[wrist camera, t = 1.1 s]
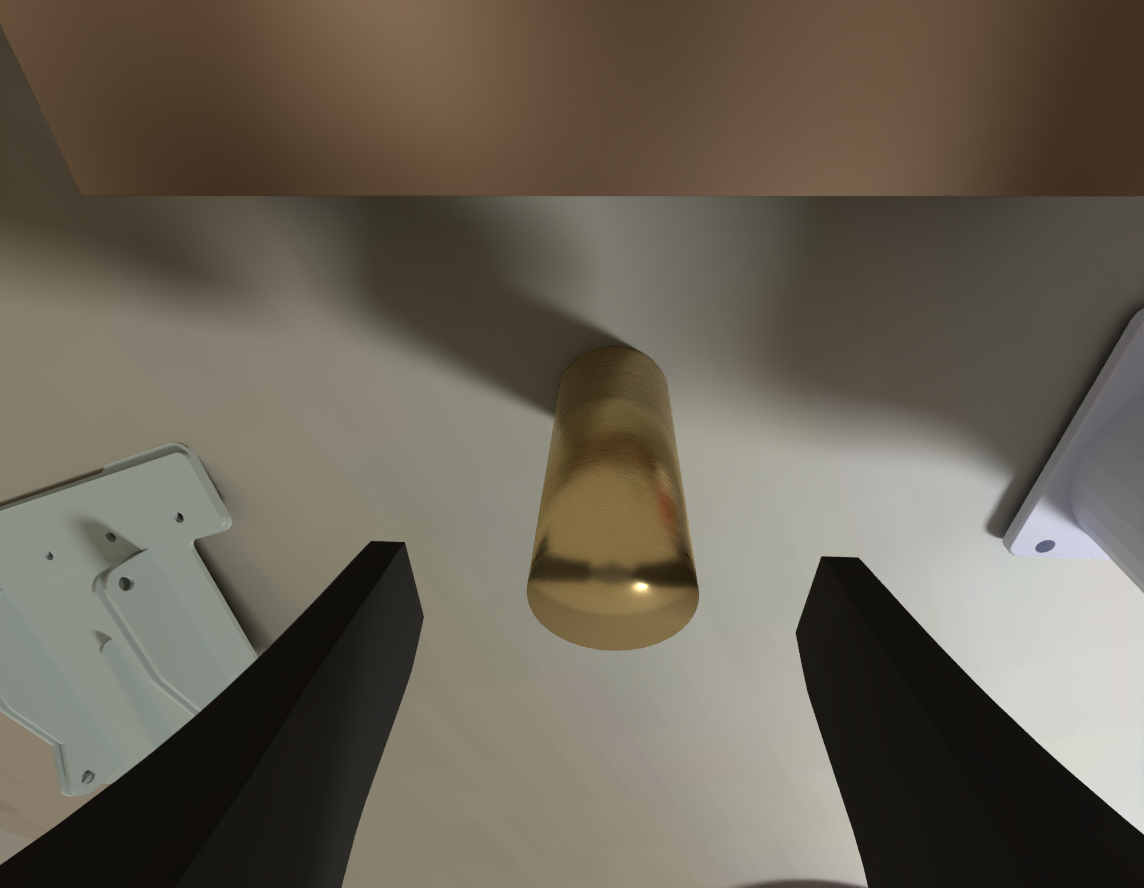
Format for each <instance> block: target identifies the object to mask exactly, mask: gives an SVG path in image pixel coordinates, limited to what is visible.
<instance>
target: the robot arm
mask: <svg viewBox="0 0 1144 888" xmlns="http://www.w3.org/2000/svg"><path fill="white" fill-rule="evenodd" d="M1002 542H1003V545H1004V546H1005V548H1006V549H1007V550H1008V551H1009V553H1011V554H1012V555H1015V556H1024V557H1051V558H1078V559H1106V560H1113V561H1114V562H1115V563H1116V565H1117V566H1118V567H1119V568H1120V569H1121V570H1122V571H1123V572H1124V573H1125V574H1126V575H1127V576H1128V577H1129V578H1130V579H1131V580H1132V581H1133V582H1134V583H1135V584H1136V585H1137V587H1138V588H1139V589H1140V590H1141V591H1142V592H1143V593H1144V308H1143V309H1141V310H1140V311H1139V312H1137V313H1136V314H1135V316H1134V317H1133V318H1132V319H1131V321H1130V322H1129V324H1128V326H1127V328H1126V329H1125V331H1124V333H1123V334H1122V336H1121V338H1120V339H1119V341H1118V343H1117V345H1116V346H1115V348H1114V350H1113V351H1112V353H1111V355H1110V357H1109V358H1108V360H1107V362H1106V363H1105V365H1104V367H1103V368H1102V370H1101V372H1100V374H1099V375H1098V377H1097V379H1096V380H1095V382H1094V384H1093V386H1092V387H1091V389H1090V391H1089V392H1088V394H1087V396H1086V397H1085V399H1084V401H1083V403H1082V404H1081V406H1080V408H1079V409H1078V411H1077V413H1076V415H1075V416H1074V418H1073V420H1072V421H1071V423H1070V425H1069V426H1068V428H1067V430H1066V432H1065V433H1064V435H1063V437H1062V438H1061V440H1060V442H1059V444H1058V445H1057V447H1056V449H1055V450H1054V452H1053V454H1052V455H1051V457H1050V459H1049V461H1048V462H1047V464H1046V466H1045V467H1044V469H1043V471H1042V473H1041V474H1040V476H1039V478H1038V479H1037V481H1036V483H1035V484H1034V486H1033V488H1032V490H1031V491H1030V493H1029V495H1028V496H1027V498H1026V500H1025V501H1024V503H1023V505H1022V507H1021V508H1020V510H1019V512H1018V513H1017V515H1016V517H1015V519H1014V520H1013V522H1012V524H1011V525H1010V527H1009V529H1008V530H1007V532H1006V534H1005V536H1004V538H1003V541H1002ZM423 618H424V616H423V612H422V608H421V604H420V600H419V596H418V592H417V588H416V584H415V580H414V576H413V572H412V568H411V564H410V560H409V557H408V553H407V549H406V545H405V542H385V541H371V542H370V543H369V544H368V545H366V547H365V548H364V549H363V550H362V551H361V552H360V553H359V554H358V555H357V556H356V557H355V558H354V559H353V560H352V561H351V562H350V564H349V565H348V566H347V567H346V568H345V569H344V570H343V571H342V572H341V573H340V574H339V575H338V576H337V578H336V579H335V580H334V581H333V582H332V583H331V584H330V585H329V586H328V587H327V588H326V589H325V590H324V591H323V592H322V594H321V595H320V596H319V597H318V598H317V599H316V600H315V601H314V602H313V603H312V604H311V605H310V606H309V607H308V608H307V609H306V610H305V611H304V612H303V613H302V614H301V615H300V616H299V617H298V618H297V620H296V621H295V622H294V623H293V624H292V625H291V626H290V627H289V628H288V629H287V630H286V631H285V632H284V633H283V634H282V635H281V636H280V637H279V638H278V639H277V640H276V641H275V642H274V643H273V644H272V645H271V646H270V647H269V648H268V649H267V650H266V651H265V652H264V653H263V654H262V655H261V656H260V657H258V658H257V659H256V660H255V661H254V662H253V663H252V664H251V665H250V666H249V667H248V668H247V669H246V670H245V671H244V672H243V673H242V674H240V675H239V676H238V677H237V678H236V679H235V680H234V681H233V682H232V683H231V684H230V685H229V686H228V687H227V688H226V689H225V690H224V691H222V692H221V693H220V694H219V695H218V696H217V697H216V698H215V699H214V700H212V701H211V702H210V703H209V704H208V705H207V706H206V707H205V708H203V709H202V710H201V711H200V712H199V713H198V714H197V715H196V716H194V717H193V718H192V719H191V720H190V721H189V722H187V723H186V724H185V725H184V726H183V727H182V728H180V729H179V730H178V731H177V732H176V733H174V734H173V735H172V736H171V737H170V738H168V739H167V740H166V741H165V742H164V743H162V744H161V745H160V746H159V747H158V748H156V749H155V750H154V751H153V752H152V753H150V754H149V755H148V756H147V757H145V758H144V759H143V760H142V761H140V762H139V763H138V764H136V765H135V766H134V767H133V768H131V769H130V770H129V771H128V772H126V773H125V774H124V775H122V776H121V777H120V778H119V779H117V780H116V781H115V782H113V783H112V784H111V785H110V786H108V787H107V788H106V789H104V790H103V791H102V792H100V793H99V794H98V795H96V796H95V797H94V798H92V799H91V800H90V801H88V802H87V803H86V804H84V805H83V806H82V807H81V808H79V809H78V810H77V811H75V812H74V813H73V814H71V815H70V816H69V817H67V818H66V819H65V820H63V821H62V822H61V823H59V824H58V825H57V826H55V827H54V828H52V829H51V830H50V831H48V832H47V833H45V834H44V835H42V836H41V837H40V838H38V839H37V840H35V841H34V842H32V843H31V844H30V845H28V846H27V847H25V848H24V849H23V850H21V851H20V852H18V853H17V854H15V855H14V856H12V857H11V858H10V859H8V860H7V861H5V862H4V863H2V864H1V865H0V888H341V887H342V883H343V879H344V875H345V871H346V868H347V864H348V860H349V856H350V852H351V848H352V845H353V841H354V837H355V833H356V830H357V827H358V824H359V821H360V817H361V814H362V811H363V808H364V805H365V802H366V799H367V796H368V793H369V790H370V788H371V785H372V782H373V779H374V776H375V774H376V771H377V768H378V765H379V762H380V760H381V757H382V754H383V751H384V748H385V746H386V743H387V740H388V737H389V734H390V732H391V729H392V726H393V723H394V720H395V718H396V715H397V712H398V709H399V706H400V703H401V700H402V698H403V695H404V692H405V689H406V686H407V683H408V680H409V677H410V674H411V671H412V667H413V663H414V659H415V654H416V650H417V646H418V641H419V637H420V632H421V628H422V623H423ZM796 637H797V642H798V647H799V653H800V658H801V663H802V668H803V673H804V678H805V682H806V687H807V691H808V695H809V698H810V701H811V704H812V707H813V710H814V714H815V717H816V720H817V723H818V726H819V729H820V732H821V735H822V738H823V741H824V744H825V747H826V750H827V753H828V756H829V759H830V762H831V765H832V769H833V772H834V775H835V778H836V781H837V784H838V787H839V790H840V793H841V796H842V799H843V802H844V805H845V808H846V811H847V814H848V817H849V820H850V823H851V826H852V829H853V832H854V836H855V839H856V843H857V846H858V849H859V853H860V856H861V860H862V863H863V867H864V871H865V875H866V880H867V884H868V888H1144V834H1142V833H1141V832H1140V831H1139V830H1138V829H1136V828H1135V827H1134V826H1133V825H1131V824H1130V823H1129V822H1128V821H1127V820H1125V819H1124V818H1123V817H1122V816H1121V815H1119V814H1118V813H1117V812H1116V811H1115V810H1114V809H1113V808H1111V807H1110V806H1109V805H1108V804H1107V803H1106V802H1104V801H1103V800H1102V799H1101V798H1100V797H1099V796H1097V795H1096V794H1095V793H1094V792H1093V791H1092V790H1090V789H1089V788H1088V787H1087V786H1086V785H1085V784H1083V783H1082V782H1081V781H1080V780H1079V779H1078V778H1077V777H1075V776H1074V775H1073V774H1072V773H1071V772H1070V771H1068V770H1067V769H1066V768H1065V767H1064V766H1063V765H1062V764H1061V763H1059V762H1058V761H1057V760H1056V759H1055V758H1054V757H1053V756H1052V755H1051V754H1049V753H1048V752H1047V751H1046V750H1045V749H1044V748H1043V747H1042V746H1041V745H1040V744H1038V743H1037V742H1036V741H1035V740H1034V739H1033V738H1032V737H1031V736H1030V735H1029V734H1028V733H1027V732H1026V731H1025V730H1024V729H1023V728H1022V727H1021V726H1020V725H1018V724H1017V723H1016V722H1015V721H1014V720H1013V719H1012V718H1011V717H1010V716H1009V715H1008V714H1007V713H1006V712H1005V711H1004V710H1003V709H1002V708H1001V707H1000V706H998V705H997V704H996V703H995V702H994V701H993V700H992V699H991V698H990V697H989V696H988V695H987V694H986V693H985V692H984V691H983V690H982V689H981V688H980V687H979V686H978V685H977V684H976V683H975V682H974V681H973V680H972V679H971V678H970V677H969V676H968V675H967V674H966V673H965V671H964V670H963V669H962V668H961V667H960V666H959V665H958V664H957V663H956V662H955V661H954V660H953V659H952V658H951V657H950V656H949V655H948V654H947V653H946V652H945V651H944V650H943V649H942V648H941V647H940V646H939V645H938V643H937V642H936V641H935V640H934V639H933V638H932V637H931V636H930V635H929V634H928V633H927V632H926V631H925V630H924V629H923V627H922V626H921V625H920V624H919V623H918V622H917V621H916V620H915V619H914V618H913V617H912V616H911V614H910V613H909V612H908V611H907V610H906V609H905V608H904V607H903V606H902V605H901V604H900V602H899V601H898V600H897V599H896V598H895V597H894V596H893V595H892V594H891V593H890V591H889V590H888V589H887V588H886V587H885V586H884V585H883V584H882V583H881V582H880V580H879V579H878V578H877V577H876V576H875V575H874V574H873V573H872V572H871V571H870V569H869V568H868V567H867V566H866V565H865V564H864V563H863V562H862V561H861V560H860V559H859V558H856V557H827V556H821V559H820V562H819V565H818V568H817V571H816V574H815V577H814V580H813V583H812V586H811V589H810V592H809V595H808V597H807V600H806V603H805V606H804V609H803V612H802V615H801V618H800V621H799V624H798V627H797V630H796Z"/></svg>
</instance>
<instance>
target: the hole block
mask: <svg viewBox="0 0 1144 888" xmlns="http://www.w3.org/2000/svg"><path fill="white" fill-rule="evenodd" d="M0 25H1V27H2V29H3V31H4V33H5V35H6V38H7V40H8V42H9V44H10V46H11V48H12V50H13V52H14V54H15V56H16V59H17V61H18V63H19V65H20V67H21V69H22V71H23V73H24V75H25V77H26V80H27V82H28V84H29V86H30V88H31V90H32V92H33V94H34V96H35V98H36V101H37V103H38V105H39V107H40V109H41V111H42V113H43V115H44V117H45V120H46V122H47V124H48V126H49V128H50V130H51V132H52V134H53V136H54V138H55V141H56V143H57V145H58V147H59V149H60V151H61V153H62V155H63V157H64V159H65V162H66V164H67V166H68V168H69V170H70V172H71V174H72V176H73V178H74V180H75V183H76V185H77V187H78V189H79V191H80V193H81V195H82V196H1144V0H0Z"/></svg>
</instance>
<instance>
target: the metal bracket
mask: <svg viewBox="0 0 1144 888" xmlns="http://www.w3.org/2000/svg"><path fill="white" fill-rule="evenodd" d="M178 513H180V514H182V516H183V518H184V520H182V519H181V518H180V516H179V515H178ZM231 525H232V519H231V516H230V515H229V513H228V511H227V509H226V507H225V506H224V504H223V502H222V500H221V498H220V496H219V495H218V493H217V491H216V489H215V487H214V486H213V484H212V482H211V480H210V478H209V476H208V475H207V473H206V471H205V469H204V467H203V466H202V464H201V462H200V460H199V458H198V457H197V455H196V454H195V453H194V451H193V450H192V449H190V448H189V447H188V446H186V445H184V444H180V443H174V442H172V443H169V444H166V445H163V446H160V447H157V448H154V449H151V450H148V451H145V452H143V453H140V454H137V455H134V456H131V457H128V458H125V459H122V460H119V461H116V462H113V463H110V464H107V465H104V469H103V471H102V472H101V473H99V474H96V475H93V476H90V477H87V478H84V479H81V480H78V481H75V482H72V483H69V484H66V485H63V486H60V487H57V488H54V489H51V490H48V491H45V492H42V493H39V494H37V495H34V496H31V497H28V498H25V499H22V500H19V501H16V502H13V503H10V504H7V505H4V506H1V507H0V711H1V712H2V713H3V714H5V715H6V716H8V717H9V718H11V719H12V720H14V721H15V722H17V723H19V724H20V725H22V726H23V727H25V728H26V729H28V730H29V731H31V732H32V733H34V734H35V735H37V736H38V737H40V738H41V739H43V740H44V741H46V742H47V743H49V744H50V745H52V749H53V755H54V761H55V767H56V773H57V779H58V785H59V789H60V792H61V793H62V794H63V795H66V796H77V795H84V794H88V793H90V792H92V791H94V790H95V789H96V788H97V787H98V786H100V785H101V784H109V783H113V782H115V781H116V780H117V779H119V778H120V777H121V776H122V775H124V774H125V773H126V772H128V771H129V770H130V769H131V768H133V767H134V766H135V765H136V764H138V763H139V762H140V761H142V760H143V759H144V758H145V757H147V756H148V755H149V754H150V753H152V752H153V751H154V750H155V749H156V748H158V747H159V746H160V745H161V744H162V743H164V742H165V741H166V740H167V739H168V738H170V737H171V736H172V735H173V734H174V733H176V732H177V731H178V730H179V729H180V728H182V727H183V726H184V725H185V724H186V723H187V722H189V721H190V720H191V719H192V718H193V717H194V716H196V715H197V714H198V713H199V712H200V711H201V710H202V709H203V708H205V707H206V706H207V705H208V704H209V703H210V702H211V701H212V700H214V699H215V698H216V697H217V696H218V695H219V694H220V693H221V692H222V691H224V690H225V689H226V688H227V687H228V686H229V685H230V684H231V683H232V682H233V681H234V680H235V679H236V678H237V677H238V676H239V675H240V674H242V673H243V672H244V671H245V670H246V669H247V668H248V667H249V666H250V665H251V664H252V663H253V662H254V661H255V660H256V659H257V658H258V656H257V655H256V653H255V651H254V649H253V648H252V646H251V644H250V642H249V641H248V639H247V637H246V636H245V634H244V632H243V630H242V629H241V627H240V625H239V623H238V622H237V620H236V618H235V617H234V615H233V613H232V611H231V610H230V608H229V606H228V604H227V603H226V601H225V599H224V598H223V596H222V594H221V592H220V591H219V589H218V587H217V585H216V584H215V582H214V580H213V579H212V577H211V575H210V573H209V572H208V570H207V568H206V567H205V565H204V563H203V561H202V560H201V558H200V556H199V554H198V553H197V551H196V549H195V547H194V540H195V539H198V538H202V537H205V536H209V535H212V534H216V533H220V532H223V531H225V530H227V529H228V528H230V527H231ZM113 534H114V535H115V537H116V539H115V537H114V536H113ZM82 775H83V779H82V781H81V778H82Z"/></svg>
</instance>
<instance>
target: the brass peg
mask: <svg viewBox="0 0 1144 888" xmlns="http://www.w3.org/2000/svg"><path fill="white" fill-rule="evenodd" d="M527 598H528V603H529V605H530V608H531V610H532V612H533V613H534V615H535V617H536V618H537V619H538V620H539V622H540V623H541V624H542V625H544V626H545V627H546V628H547V629H548V630H550V631H551V632H552V633H554V634H555V635H557V636H559V637H561V638H562V639H565V640H567V641H569V642H571V643H574V644H577V645H580V646H584V647H588V648H593V649H599V650H632V649H638V648H643V647H647V646H651V645H654V644H657V643H659V642H662V641H664V640H666V639H668V638H670V637H671V636H673V635H675V634H676V633H677V632H679V631H680V630H681V629H683V628H684V627H685V626H686V624H687V623H688V622H689V621H690V620H691V618H692V617H693V615H694V613H695V611H696V609H697V605H698V601H699V591H698V584H697V577H696V570H695V564H694V557H693V550H692V544H691V537H690V531H689V524H688V517H687V511H686V504H685V497H684V491H683V484H682V478H681V471H680V464H679V458H678V451H677V445H676V438H675V431H674V425H673V418H672V411H671V405H670V398H669V392H668V385H667V381H666V378H665V376H664V374H663V372H662V371H661V369H660V368H659V366H658V365H657V364H656V363H655V362H654V361H653V360H652V359H651V358H649V357H648V356H646V355H645V354H643V353H641V352H639V351H637V350H634V349H631V348H626V347H619V346H608V347H602V348H598V349H594V350H591V351H589V352H587V353H585V354H583V355H582V356H580V357H579V358H577V359H576V360H575V361H574V362H573V363H572V364H571V365H570V366H569V367H568V369H567V370H566V371H565V373H564V375H563V377H562V380H561V383H560V388H559V394H558V400H557V406H556V412H555V418H554V425H553V431H552V437H551V443H550V449H549V455H548V462H547V468H546V474H545V480H544V486H543V492H542V498H541V505H540V511H539V517H538V523H537V529H536V535H535V542H534V548H533V554H532V560H531V566H530V572H529V578H528V585H527Z"/></svg>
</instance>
